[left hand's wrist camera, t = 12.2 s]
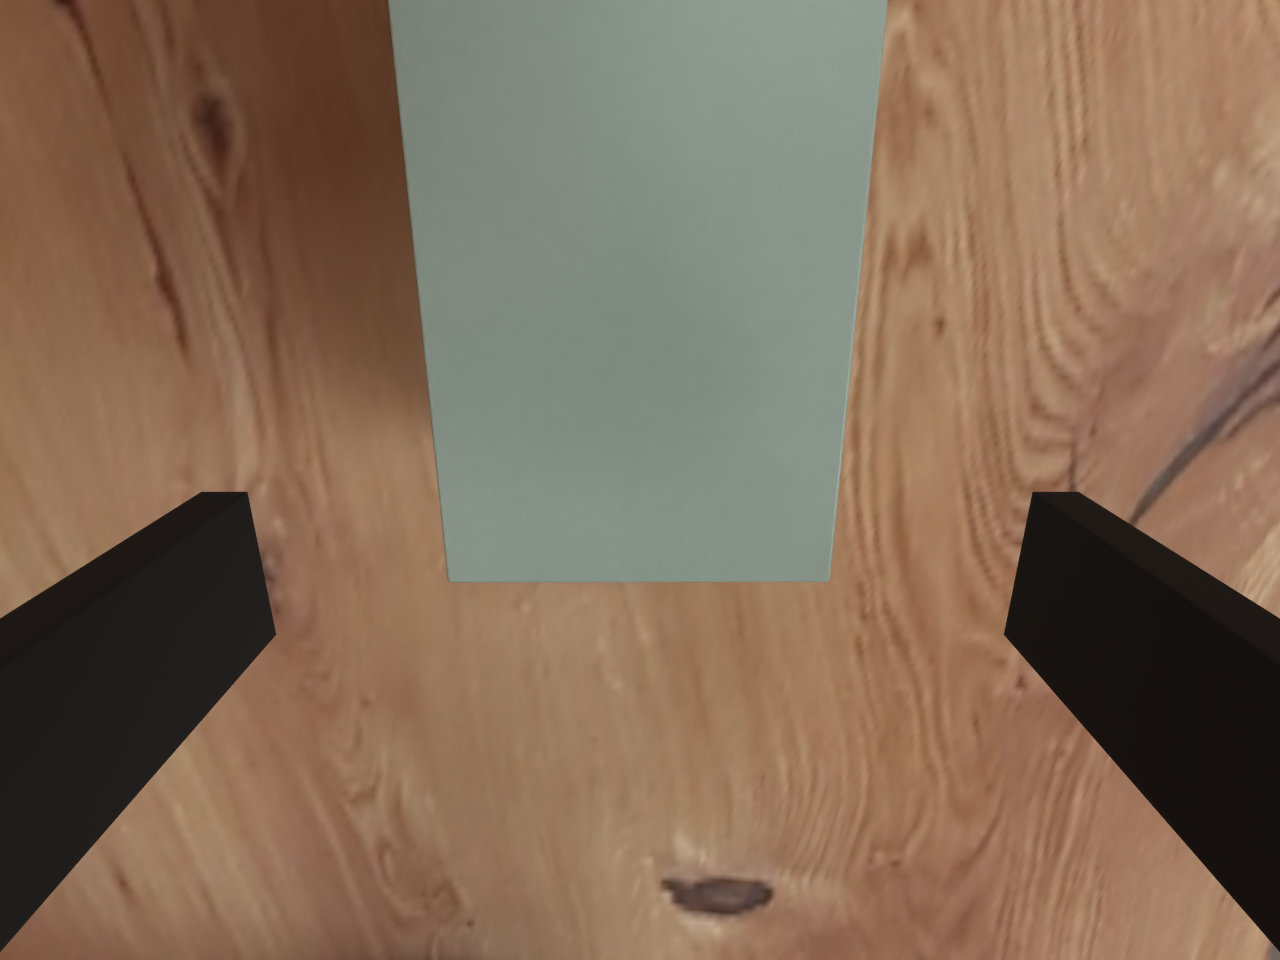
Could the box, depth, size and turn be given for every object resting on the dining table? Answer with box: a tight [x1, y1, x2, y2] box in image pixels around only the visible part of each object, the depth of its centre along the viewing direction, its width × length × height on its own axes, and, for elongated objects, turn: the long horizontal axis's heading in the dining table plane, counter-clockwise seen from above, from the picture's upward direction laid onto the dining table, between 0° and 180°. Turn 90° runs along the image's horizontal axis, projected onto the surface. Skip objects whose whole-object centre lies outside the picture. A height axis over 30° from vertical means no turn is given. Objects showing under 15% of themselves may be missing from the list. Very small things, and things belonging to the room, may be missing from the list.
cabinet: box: [388, 0, 888, 582], centre depth 21 cm, size 17×10×11 cm, turn 0°
